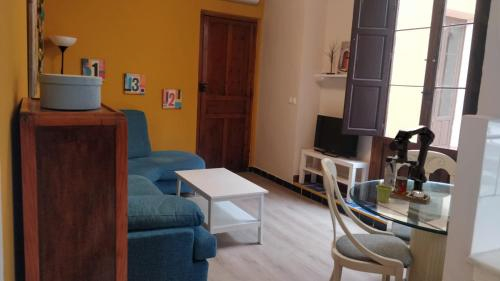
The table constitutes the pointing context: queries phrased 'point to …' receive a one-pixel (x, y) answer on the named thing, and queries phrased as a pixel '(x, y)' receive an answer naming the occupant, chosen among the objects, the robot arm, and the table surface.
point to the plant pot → (383, 193)
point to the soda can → (400, 185)
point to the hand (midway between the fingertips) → (400, 174)
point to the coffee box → (389, 174)
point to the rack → (410, 197)
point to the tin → (418, 194)
